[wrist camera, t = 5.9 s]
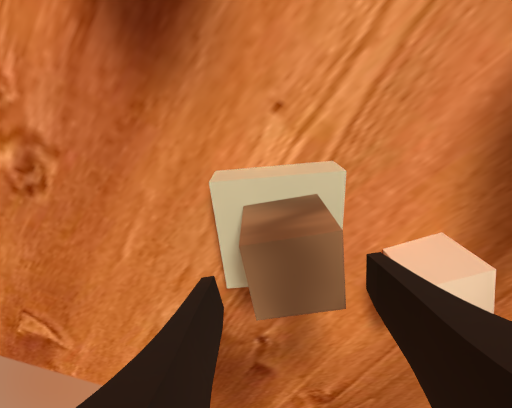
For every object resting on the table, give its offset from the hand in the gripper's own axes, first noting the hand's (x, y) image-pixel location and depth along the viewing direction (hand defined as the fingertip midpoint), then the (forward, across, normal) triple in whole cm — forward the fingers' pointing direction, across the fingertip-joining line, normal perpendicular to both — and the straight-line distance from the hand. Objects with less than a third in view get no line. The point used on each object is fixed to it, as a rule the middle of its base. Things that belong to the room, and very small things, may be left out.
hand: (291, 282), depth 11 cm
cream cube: (+7, -10, +6) cm, 14 cm away
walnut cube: (+4, 0, 0) cm, 4 cm away
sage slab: (+7, 0, 0) cm, 7 cm away
